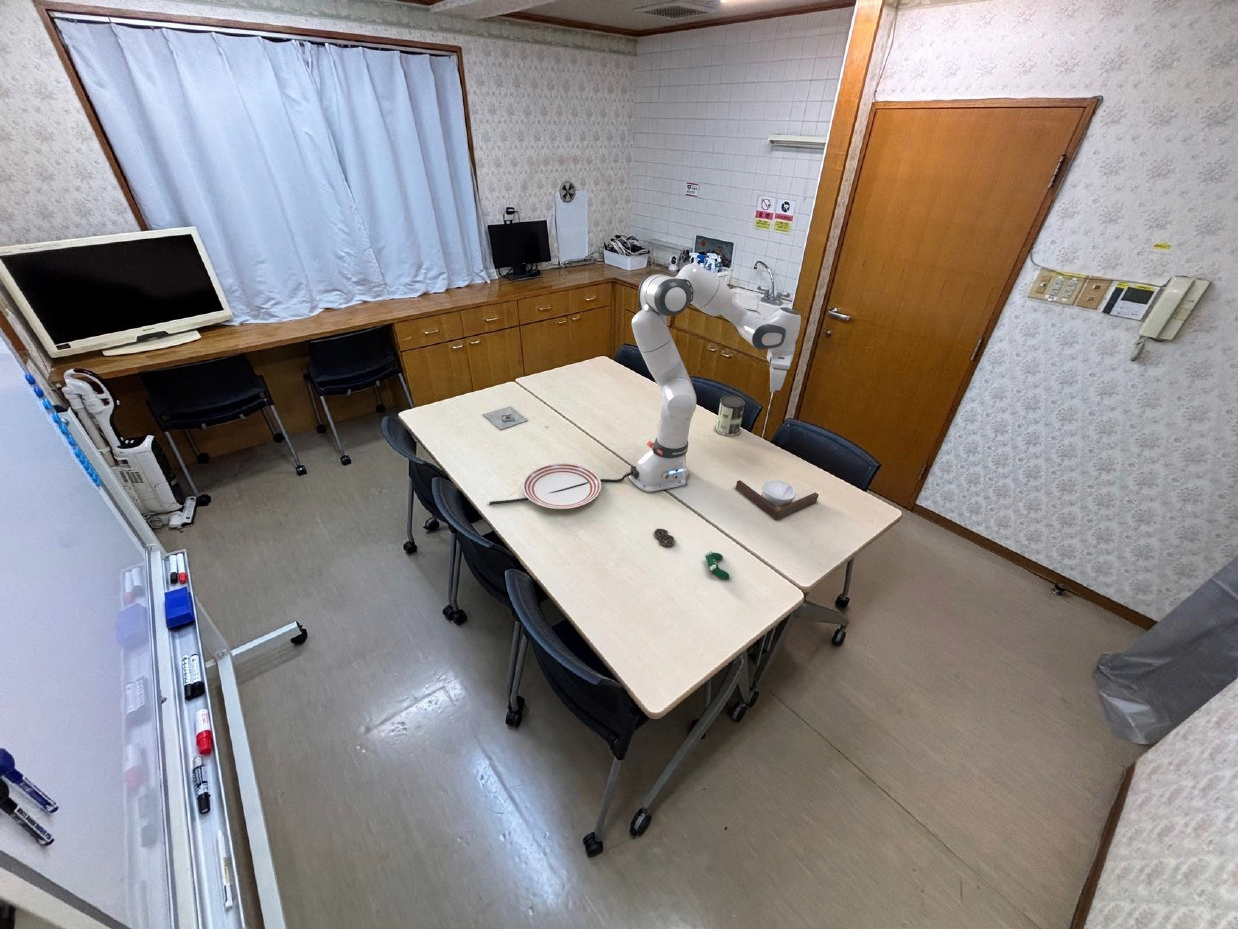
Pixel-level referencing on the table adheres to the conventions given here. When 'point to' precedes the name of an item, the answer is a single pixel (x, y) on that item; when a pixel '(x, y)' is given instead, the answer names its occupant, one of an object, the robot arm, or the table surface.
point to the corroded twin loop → (664, 537)
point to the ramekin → (778, 492)
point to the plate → (561, 486)
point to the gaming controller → (715, 564)
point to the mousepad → (505, 418)
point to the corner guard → (769, 507)
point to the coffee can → (730, 415)
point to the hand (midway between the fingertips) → (772, 390)
